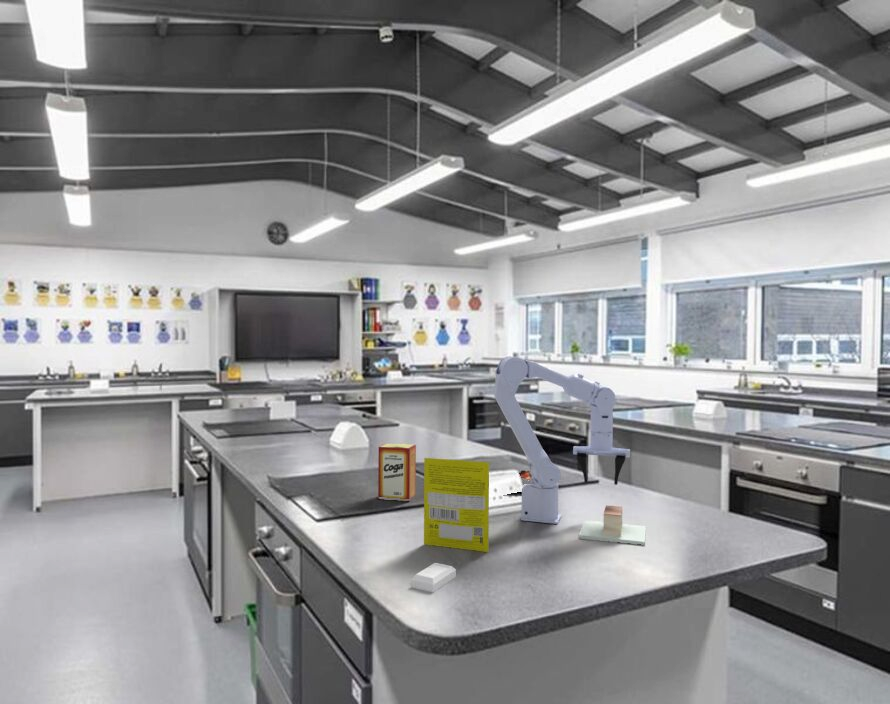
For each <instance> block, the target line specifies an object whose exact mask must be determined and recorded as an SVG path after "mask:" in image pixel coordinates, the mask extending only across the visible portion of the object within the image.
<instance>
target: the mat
mask: <svg viewBox="0 0 890 704" xmlns="http://www.w3.org/2000/svg"><path fill="white" fill-rule="evenodd" d="M603 530H604V521H595V520H583V524H582V525H581V528H580V530H579V531H580V532H579V534H578V539H579V540H580V539H582V540H591V541H598V540H599V542H600V541H601V542H608V541H609V542H610V543H617V542H620V544H627V543H631V544H630V545H637V544H641V545H640V546H645V545H646V530H647V526H646V525H639V524H638V525H636V524H627V523H626V524H625V523H622V532H621V536H613V535H603Z"/></svg>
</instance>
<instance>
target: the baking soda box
mask: <svg viewBox="0 0 890 704" xmlns="http://www.w3.org/2000/svg"><path fill="white" fill-rule="evenodd" d="M416 450H417V444H409V443H384V444H381V445H380V446H378V462H377V463H378V464H377V466H378V474H377V475H378V477H377V478H378V481H377V483H378V484H377V485H378V486H377V488H378V493H377V496H378V497H387V498H400V499H410V498H411V497H412V496H414V495H415V494H416V492H417V491H416V485H417V484H416V482H417V481H416V479H417V478H416V477H417V476H416V475H417V474H416V473H417V471H416V468H417V466H416V465H417V464H416V463H417V462H416V461H417V454H416V453H417V451H416ZM378 497H377V498H378Z"/></svg>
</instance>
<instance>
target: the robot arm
mask: <svg viewBox="0 0 890 704" xmlns="http://www.w3.org/2000/svg"><path fill="white" fill-rule="evenodd" d="M494 373H495V381H494V398H495V401H496V402H497V404H498V406H499V408H500V410H501V411H502V413H503V415H504V418H505V420H506V421H507V424H508V425H509V426H510V428H511V431H512V432H513V435H514V436H515V437H516V440H517V442H518V444H519V445H520V447H521V449H522V451H523V453H524V455H525V458H526V460H527V463H528V466H529V468H528V469H529V470H528V471H530V474H531V475H532V477H534V478H533V479H532V481H531V484H524V485H523V488H522V491H521V516H520V517H521V518H520V521H525V522H535V523H543V524H544V523H545V524H556V525H557V524H558V523H559V522H560V520H561V518H562V514H561V513H559V482H560V480H561V475H562V474H561V470H560V468H559V467H558V466H557V465H556V464H554V463H553V462H552V461H551V459H550V457H549V456H548V453H546V451H545V450H544V449H543V446H542V445H541V443H540V441H539V439H538V437H537V435H536V434H535V432H534V430H533V428H532V426H531V425H530V422H529V420H528V419H527V417H526V415H525V413H524V412H523V409H522V407H521V406H520V404H519V401H518V400H517V398H516V393H517V391H518V388H519V386H520V385H521V383H522V382H523V381H524V380H525V379H533V378H539V379H541V380H544V381H547V382H548V383H550V384H553V385H556V386H558V387H561V388H562V389H563V391H564V394H565V395H567V396H570V397H572V398H575V399H577V400H580V401H582V402H584V403H587V404H589V405H590V435H589V436H590V438H589V439H590V444H589V445H590V446H588V445H586V446H584V445H583V446H580V445H579V446H578V445H574V446H573V447H572V448H573V449H572V454H573V455H576V459H577V461H578V463H579V466H580V468H581V471H582V474H583V480H584V483H588V481H589V472H588V471H589V469H588V464H589V463H588V461H589V459H588V458H589V456H602V457H605V456H606V457H615V459H614V482H613V483H614V485H615V486H617V485H618V482H619V476H620V473H621V470H622V468H623V465H624V463H625V461H626V459H627V458H628V459H630V457H631V449H630V448H629V449H628V448H619V447H618V448H617V447H613V441H614V439H613V434H614V432H613V431H614V429H613V428H614V426H613V425H614V423H613V421H614V415H613V413H614V412H613V410H614V409H613V408H614V407H615V406H616V403H617V400H618V398H617V397H616V395H615V392H614V391H613V389H611V388H609V387H605V386H602V385H600V384H601V383H600V382H598V381H595V382H594V381H592V380H589V379H587V378H585V377H584V374H580V373H578V374H575V373H573V374H570V375H568V376H567V375H565V374H562V373H561V372H558V371H556V370H553V369H552V368H549V367H548V366H546V365H543V364H541V363H538V362H535V361H532V360H528V359H523V358H520V357H518V356H515V357H514V356H512V355H511V356H510V355H509V356H505V357H503V358H501V359H500V360H499V362H498V365H497V367H496V369H495V372H494Z"/></svg>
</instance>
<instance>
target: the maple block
mask: <svg viewBox="0 0 890 704" xmlns="http://www.w3.org/2000/svg"><path fill="white" fill-rule="evenodd" d="M603 522H604V530H603V535H613V536H621V532H622V524H623V506H620V505H619V506H618V505H617V506H616V505H605V507H604V512H603Z"/></svg>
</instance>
